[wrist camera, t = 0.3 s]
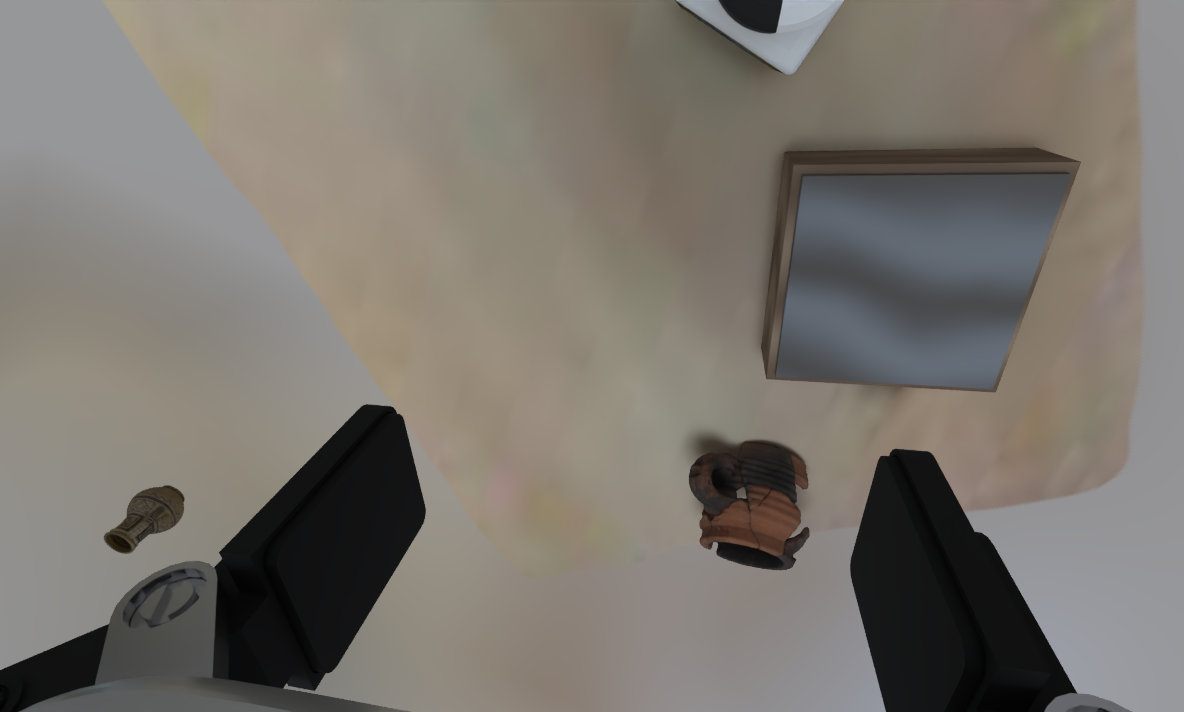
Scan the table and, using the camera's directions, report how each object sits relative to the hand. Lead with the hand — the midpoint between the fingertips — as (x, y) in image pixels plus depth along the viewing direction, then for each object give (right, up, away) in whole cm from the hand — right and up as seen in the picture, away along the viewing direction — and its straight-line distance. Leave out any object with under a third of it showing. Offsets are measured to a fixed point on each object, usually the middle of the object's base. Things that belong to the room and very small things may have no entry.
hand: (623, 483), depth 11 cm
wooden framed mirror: (+19, +9, +26) cm, 33 cm away
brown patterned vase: (-165, -52, +205) cm, 269 cm away
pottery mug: (+13, -6, +36) cm, 39 cm away
